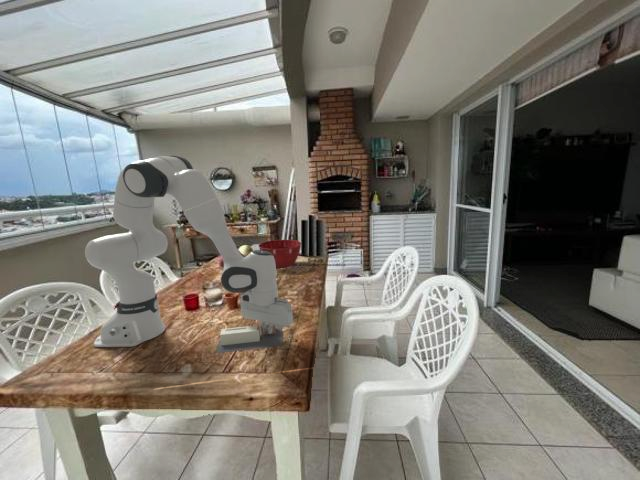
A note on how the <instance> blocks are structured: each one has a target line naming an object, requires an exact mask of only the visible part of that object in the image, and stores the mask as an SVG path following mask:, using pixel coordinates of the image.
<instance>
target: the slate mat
mask: <svg viewBox="0 0 640 480" xmlns="http://www.w3.org/2000/svg"><path fill="white" fill-rule="evenodd" d="M275 331H276V333H275V334H266V335H262V333H261V326H260V341H256V342H247V343H239V344H230V345H221V340H220V339H219V342H218V344H217V348H216V351H215V354H220V353H221V354H222V353H231V352H238V351H247V350H255V349H256V350H257V349H265V348H272V347H279V346H280V347H281V346H283V345H284V338H283V336H284V335H283V334H284V333H283V326H279V325H275Z"/></svg>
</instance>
